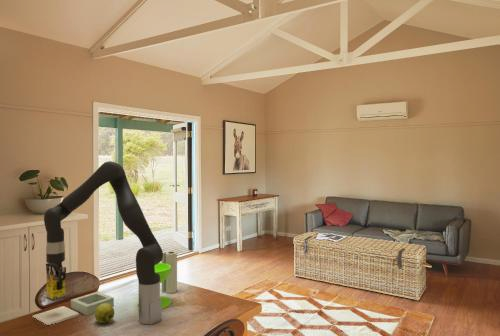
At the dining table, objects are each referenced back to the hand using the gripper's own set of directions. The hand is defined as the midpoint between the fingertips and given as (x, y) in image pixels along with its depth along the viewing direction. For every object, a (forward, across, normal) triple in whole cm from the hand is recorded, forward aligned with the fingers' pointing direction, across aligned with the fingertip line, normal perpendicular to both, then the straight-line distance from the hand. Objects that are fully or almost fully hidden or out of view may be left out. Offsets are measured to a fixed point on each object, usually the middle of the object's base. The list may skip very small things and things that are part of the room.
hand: (56, 287), depth 171 cm
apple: (+13, -23, -10) cm, 28 cm away
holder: (+13, -3, -16) cm, 21 cm away
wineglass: (+13, -24, -37) cm, 46 cm away
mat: (+13, 0, 0) cm, 13 cm away
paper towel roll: (+13, -17, -53) cm, 57 cm away
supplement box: (+5, 0, 0) cm, 5 cm away
